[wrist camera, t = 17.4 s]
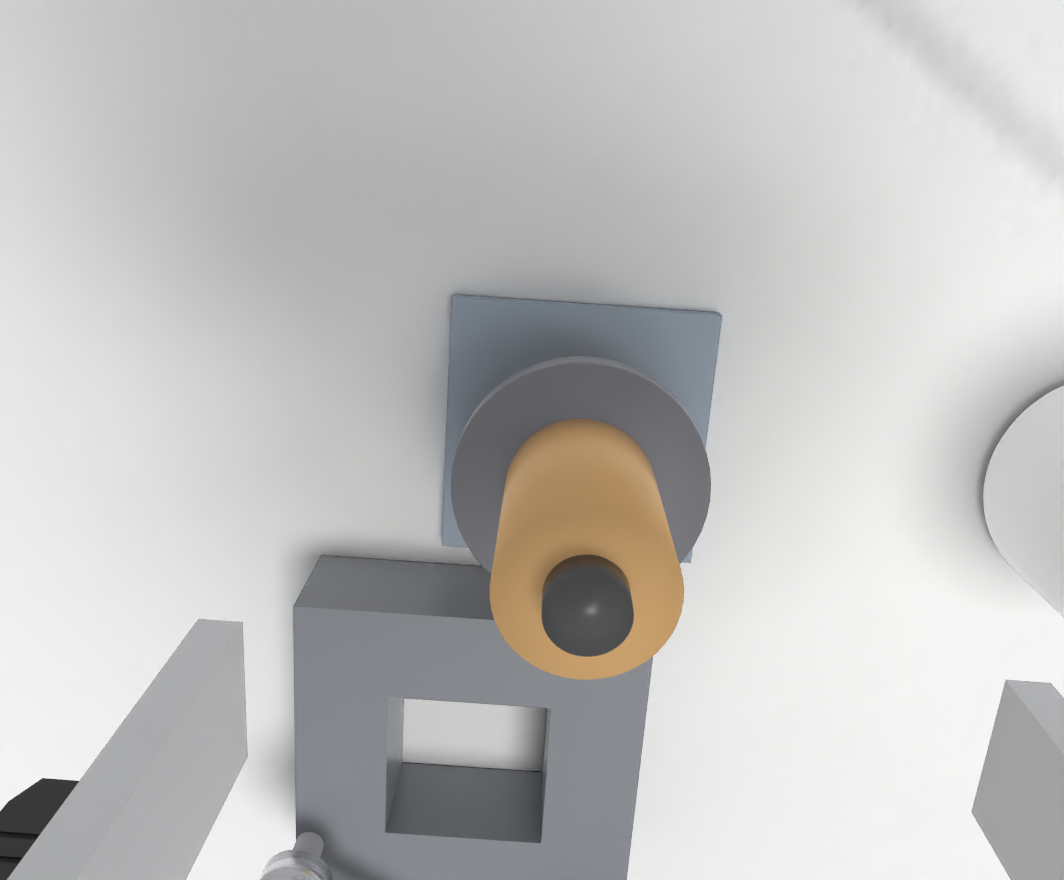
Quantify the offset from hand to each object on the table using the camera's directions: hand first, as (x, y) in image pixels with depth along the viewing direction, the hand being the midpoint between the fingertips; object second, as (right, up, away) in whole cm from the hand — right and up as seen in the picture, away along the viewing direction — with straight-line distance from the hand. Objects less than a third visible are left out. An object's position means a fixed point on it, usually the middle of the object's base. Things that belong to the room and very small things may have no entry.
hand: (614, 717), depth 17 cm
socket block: (-4, -6, +21) cm, 22 cm away
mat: (0, +5, +17) cm, 18 cm away
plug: (0, +5, +16) cm, 17 cm away
